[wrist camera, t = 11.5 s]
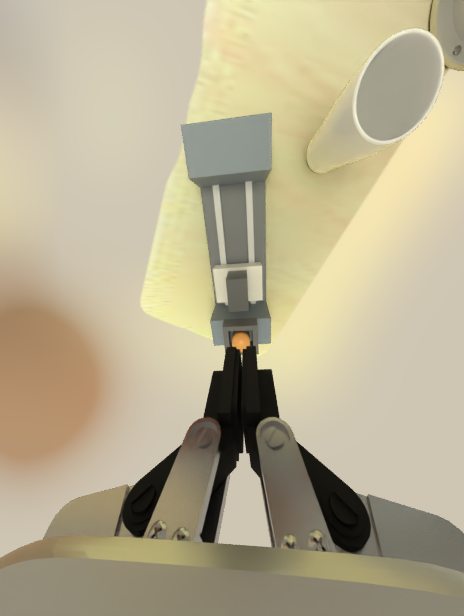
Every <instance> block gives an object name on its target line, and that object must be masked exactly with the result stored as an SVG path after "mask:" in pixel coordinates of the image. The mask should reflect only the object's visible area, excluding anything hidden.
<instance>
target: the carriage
mask: <svg viewBox="0 0 464 616" xmlns="http://www.w3.org/2000/svg"><path fill="white" fill-rule="evenodd" d="M213 275H214V283H215V291H216V299H217V303H224V302H228V308H229V312H241V311H249V302H248V301H259V300H263V290H262V264H261V262H253V263H239V264H226V265H215V266H214V268H213Z"/></svg>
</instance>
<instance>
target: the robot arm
mask: <svg viewBox="0 0 464 616" xmlns="http://www.w3.org/2000/svg"><path fill="white" fill-rule="evenodd" d="M430 33H432V34H433V35H434V36H435V37H436V38H437V39H438V41H439V43H440V45H441V47H442V50H443V54H444V62H445V65H446V66H447V67H449V68H450V69H454V70H458V71H464V0H433V4H432V10H431V18H430ZM243 435H244V437H245V445H246V452H247V453H249V455H250V462H251V468H252V469H253V470H254V471H255V472H256V474H257V475H258V476H259V477H260V482H261V488H262V494H263V500H264V506H265V512H266V518H267V524H268V529H269V535H270V541H271V547H258V546H244V545H231V544H218V539H219V534H220V528H221V523H222V517H223V512H224V507H225V501H226V496H227V490H228V484H229V479H230V473H231V472H232V471H233V470H234V469H235V468H236V461H239V453H243ZM0 616H464V534H463V532H462V531H461V530H460V529H458V528H457V527H456V526H454V525H453V524H452V523H450V522H449V521H447V520H445V519H443V518H441V517H439V516H437V515H434V514H430V513H427V512H424V511H421V510H417V509H414V508H411V507H408V506H405V505H401V504H398V503H395V502H392V501H388V500H385V499H382V498H379V497H375V496H372V495H368V496H364V495H360V494H357V493H355V492H354V491H353V490H352V489H351V488H350V487H349V486H348V485H346V484H345V483H344V482H343V481H342V480H341V479H340V478H338V477H337V476H336V475H335V474H334V473H333V472H331V471H330V470H329V469H328V468H327V467H326V466H324V465H323V464H322V463H321V462H320V461H318V459H316V458H315V457H314V456H313V455H312V454H310V453H309V452H308V451H307V450H306V449H305V448H304V447H302V446H301V445H300V444H299V443H298V442H297V441H296V440H295V437H294V434H293V432H292V430H291V428H290V426H289V425H288V424H287V423H286V422H285V421H283V420H281V419H280V418H279V412H278V406H277V400H276V394H275V388H274V381H273V375H272V370H271V369H268V370H267V369H264V370H257V355H256V346H246V349H243V359H242V362H241V353H240V349H237V348H236V347H227V348H226V354H225V360H224V367H223V371H214V372H213V375H212V380H211V385H210V389H209V394H208V398H207V403H206V408H205V413H204V417H203V418H201V419H198V420H197V421H195V422H194V423H193V424H192V425H191V426H190V427H189V429H188V431H187V433H186V436H185V438H184V440H183V443H182V445H180V446H179V447H178V448H177V449H176V450H175V451H174V452H172V453H171V454H170V455H169V456H167V457H166V458H165V459H164V460H163V461H162V462H160V463H159V464H158V465H157V466H156V467H155V468H153V469H152V470H151V471H150V472H149V473H147V474H146V475H145V476H144V477H143V478H142V479H140V480H139V481H138V482H137V483H136V484H135V485H133V486H130V487H129V486H128V485H124V486H120V487H116V488H112V489H109V490H105V491H101V492H97V493H94V494H90V495H86V496H82V497H79V498H76V499H74V500H72V501H70V502H69V503H68V504H66V505H65V506H64V507H63V508H62V509H61V510H60V511H59V513H58V514H57V515H56V516H55V518H54V519H53V521H52V522H51V524H50V526H49V528H48V530H47V532H46V534H45V536H44V538H43V540H39V541H36V542H33V543H30V544H28V545H25V546H23V547H20V548H18V549H16V550H14V551H12V552H10V553H8V554H7V555H5V556H3V557H1V558H0Z"/></svg>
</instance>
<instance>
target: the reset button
mask: <svg viewBox="0 0 464 616" xmlns="http://www.w3.org/2000/svg"><path fill="white" fill-rule="evenodd" d="M246 346H250V335H249V331H248V330H247V331H233V337H232V347H236V348H237V349H240V352H243V349H246Z"/></svg>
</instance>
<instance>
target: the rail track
mask: <svg viewBox="0 0 464 616" xmlns="http://www.w3.org/2000/svg"><path fill="white" fill-rule="evenodd" d="M271 125H272V113H265V114H258V115H250V116H243V117H236V118H229V119H221V120H214V121H207V122H200V123H192V124H185V125H181V129H182V136H183V143H184V149H185V156H186V163H187V169H188V176H189V179H190V180H191V181H193V182H194V183H195V184H196V185H198V186H199V187H200V188H201V195H202V203H203V211H204V218H205V226H206V233H207V241H208V249H209V256H210V264H211V272H212V279H213V287H214V294H215V302H216V305H215V308H214V311H213V314H212V318H211V321H210V322H211V329H212V335H213V342H214V345H215V346H216V345H225V353H226V348H227V347H232V337H233V331H247V330H248V331H249V335H250V346H256V354H259V353H258V344H268V343H271V317H270V314H269V310H268V307H267V304H266V254H265V180H266V178H267V176H268V174H269V173H270V171H271ZM253 262H261V264H262V290H263V300H259V301H248V302H249V311H241V312H229V308H228V302H224V303H217V299H216V291H215V283H214V275H213V268H214V266H215V265H226V264H239V263H253ZM240 353H241V355H243V352H240Z"/></svg>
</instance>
